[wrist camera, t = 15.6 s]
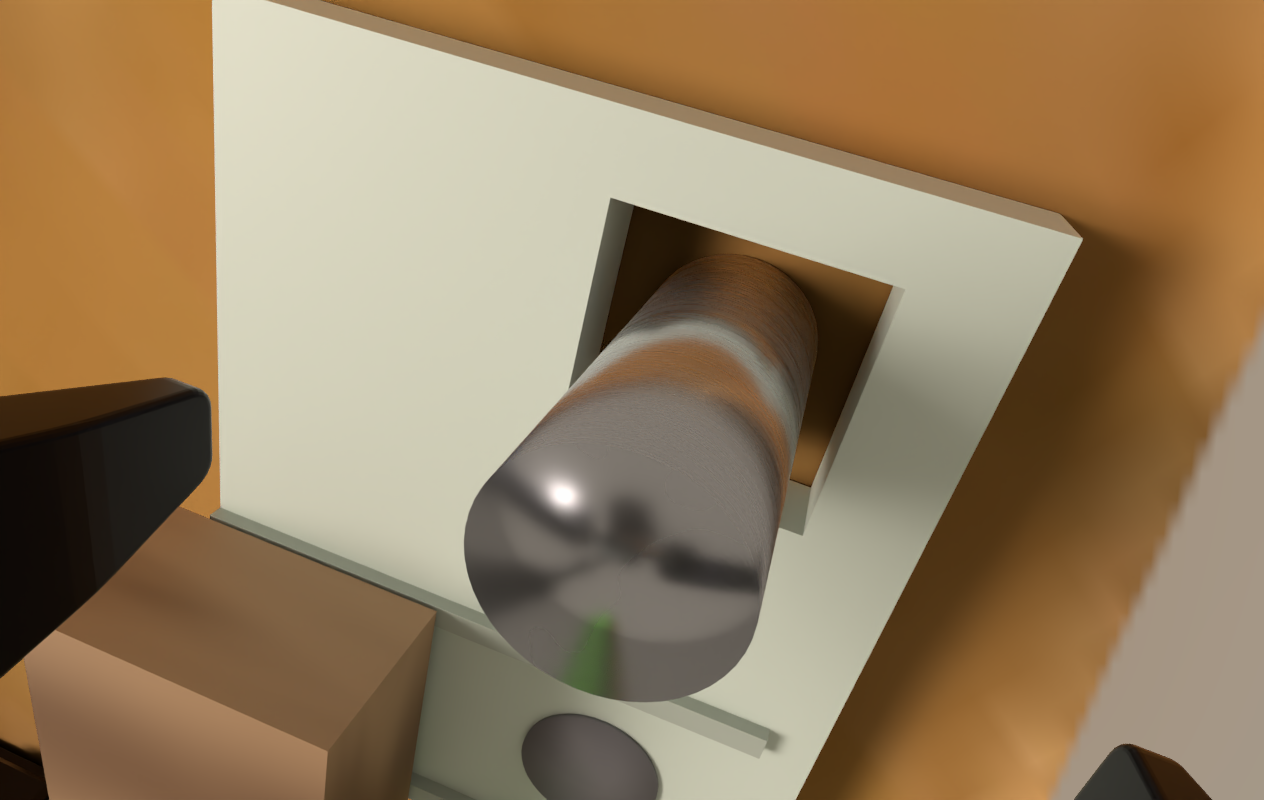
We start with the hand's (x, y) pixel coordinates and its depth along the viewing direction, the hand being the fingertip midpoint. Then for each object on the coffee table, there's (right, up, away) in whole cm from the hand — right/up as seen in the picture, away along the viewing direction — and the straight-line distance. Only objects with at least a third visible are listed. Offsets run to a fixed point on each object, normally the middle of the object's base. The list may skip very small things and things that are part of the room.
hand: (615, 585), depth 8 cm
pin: (+2, +3, +6) cm, 7 cm away
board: (-1, 0, +9) cm, 9 cm away
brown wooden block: (-7, -4, +10) cm, 13 cm away
